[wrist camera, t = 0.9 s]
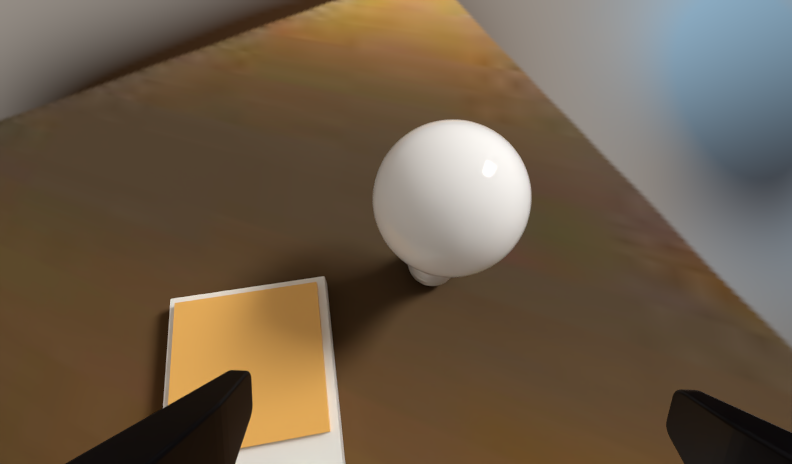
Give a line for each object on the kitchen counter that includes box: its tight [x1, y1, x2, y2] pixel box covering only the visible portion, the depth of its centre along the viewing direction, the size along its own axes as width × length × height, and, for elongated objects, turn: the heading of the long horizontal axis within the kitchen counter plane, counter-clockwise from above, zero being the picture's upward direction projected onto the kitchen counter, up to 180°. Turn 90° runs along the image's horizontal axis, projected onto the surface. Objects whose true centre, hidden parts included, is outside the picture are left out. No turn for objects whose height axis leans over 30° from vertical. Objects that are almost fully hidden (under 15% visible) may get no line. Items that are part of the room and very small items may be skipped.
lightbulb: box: [373, 119, 531, 286], centre depth 19 cm, size 6×6×11 cm
